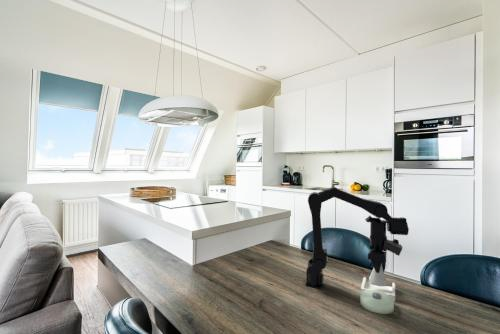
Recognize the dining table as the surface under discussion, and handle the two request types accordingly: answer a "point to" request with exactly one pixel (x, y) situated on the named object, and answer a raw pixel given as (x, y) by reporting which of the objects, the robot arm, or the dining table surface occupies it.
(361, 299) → the white tub with tabs
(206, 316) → the dining table surface
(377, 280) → the flask
